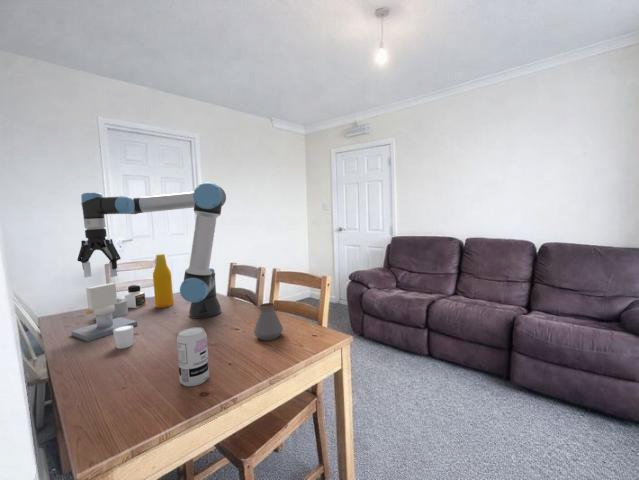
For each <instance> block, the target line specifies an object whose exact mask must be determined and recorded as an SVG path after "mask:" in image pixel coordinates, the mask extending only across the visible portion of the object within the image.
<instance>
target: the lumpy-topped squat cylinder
mask: <svg viewBox="0 0 639 480" xmlns="http://www.w3.org/2000/svg"><path fill="white" fill-rule="evenodd" d="M114 306H115V311H114V312H112V318H113V319H115V318H118V317H124V316H126V315H127V314H129V308H128V305H127V300H126V299H125V298H121V297H117V303H116V304H114Z"/></svg>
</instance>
